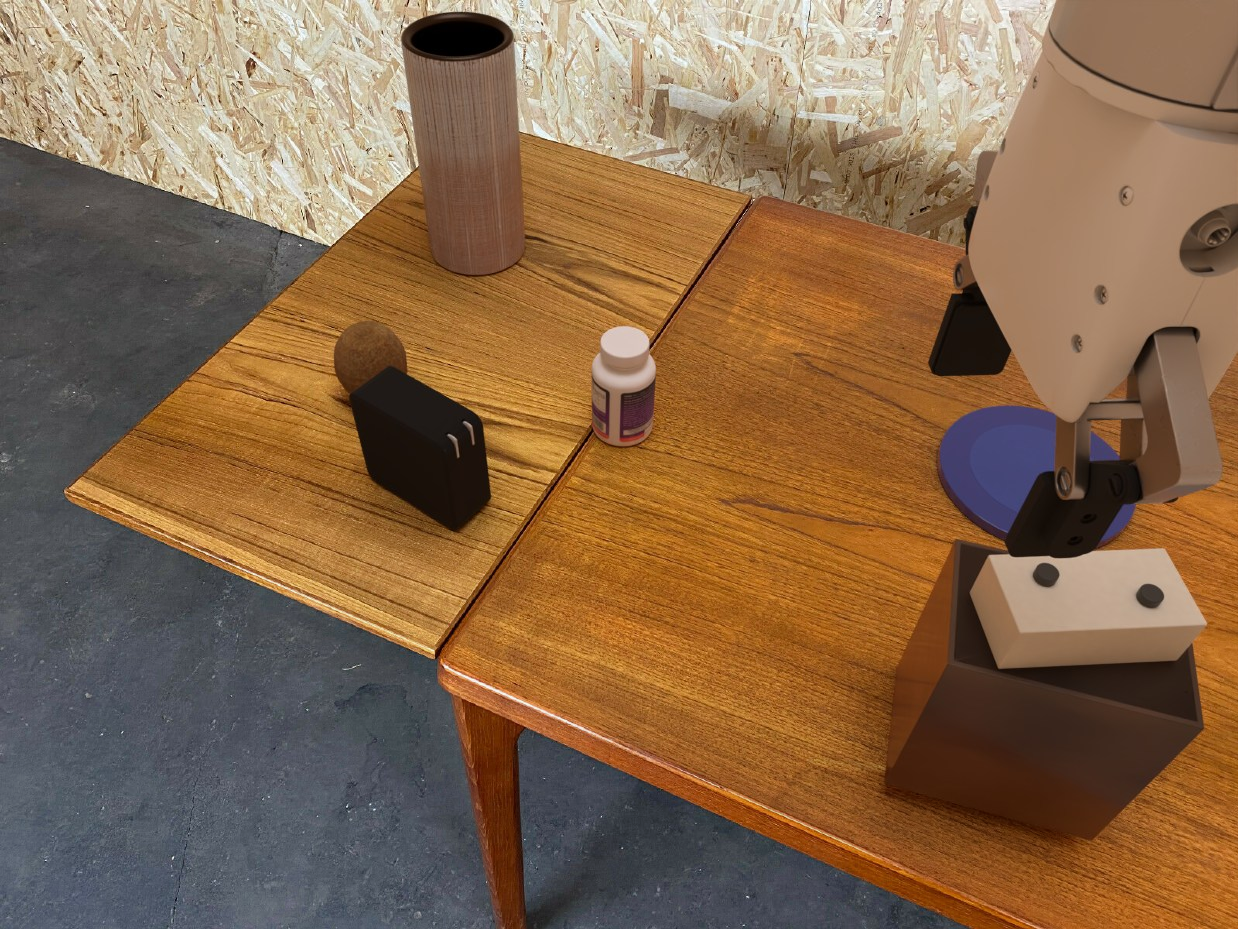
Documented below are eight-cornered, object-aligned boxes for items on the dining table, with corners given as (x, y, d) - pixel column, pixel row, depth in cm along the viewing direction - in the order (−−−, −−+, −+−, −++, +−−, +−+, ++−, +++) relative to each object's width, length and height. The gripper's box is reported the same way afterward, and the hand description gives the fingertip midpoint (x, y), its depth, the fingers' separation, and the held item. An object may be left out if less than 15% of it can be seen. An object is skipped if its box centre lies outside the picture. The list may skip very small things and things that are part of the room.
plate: (1125, 434, 85) (1129, 426, 84) (1139, 574, 74) (1144, 567, 74) (942, 397, 88) (945, 389, 87) (930, 527, 77) (933, 519, 76)
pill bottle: (658, 410, 86) (664, 325, 78) (645, 453, 82) (651, 368, 75) (599, 400, 86) (600, 315, 79) (584, 442, 83) (584, 356, 76)
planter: (533, 226, 105) (523, 14, 88) (516, 281, 98) (501, 62, 81) (443, 218, 105) (416, 6, 89) (420, 272, 99) (386, 53, 82)
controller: (1137, 585, 55) (1169, 540, 52) (1177, 661, 52) (1214, 618, 49) (968, 592, 55) (991, 547, 51) (997, 669, 51) (1024, 626, 48)
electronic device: (404, 449, 82) (385, 361, 74) (492, 503, 78) (482, 415, 70) (368, 478, 79) (345, 390, 72) (458, 535, 75) (443, 448, 68)
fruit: (329, 396, 86) (309, 326, 80) (385, 363, 89) (371, 294, 83) (370, 431, 83) (354, 362, 77) (427, 396, 86) (415, 327, 80)
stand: (1086, 716, 66) (1185, 591, 55) (1091, 841, 60) (1204, 729, 49) (896, 668, 68) (955, 538, 57) (884, 784, 62) (947, 664, 51)
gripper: (1577, 185, 20) (1194, 634, 32) (1189, -97, 32) (1017, 314, 44) (1232, 191, 19) (979, 644, 32) (967, -97, 31) (858, 318, 44)
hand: (1001, 452), depth 38 cm, fingers open, 9 cm apart
